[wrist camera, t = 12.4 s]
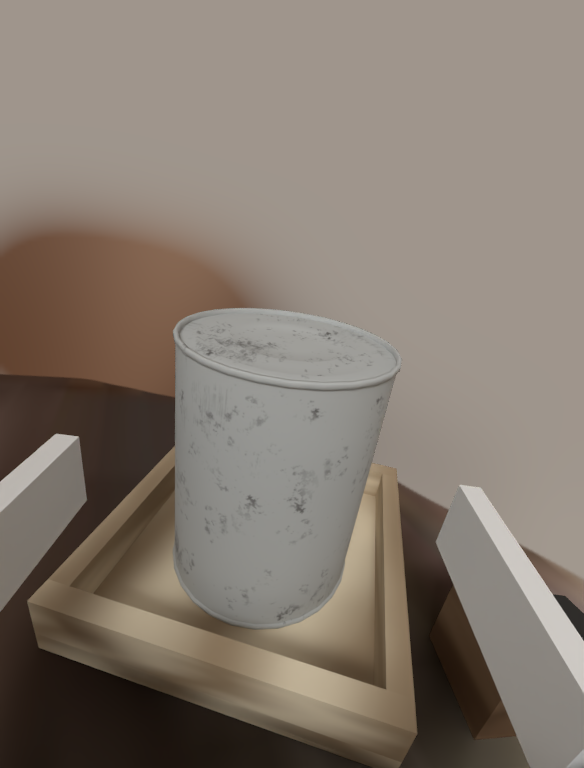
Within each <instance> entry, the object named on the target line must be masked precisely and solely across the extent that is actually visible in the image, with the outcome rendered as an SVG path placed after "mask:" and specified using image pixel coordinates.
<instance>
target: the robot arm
mask: <svg viewBox="0 0 584 768" xmlns="http://www.w3.org/2000/svg"><path fill="white" fill-rule="evenodd" d="M86 500H87V497H86V489H85V481H84V473H83V465H82V457H81V449H80V441H79V437H77V436H69V435H61V434H55V435H54V436H53V437H52V438H50V439H49V440H48V441H47V442H46V443H45V444H44V445H42V446H41V447H40V448H39V449H38V450H37V451H35V452H34V453H33V454H32V455H31V456H30V457H28V458H27V459H26V460H25V461H24V462H23V463H21V464H20V465H19V466H18V467H17V468H16V469H15V470H13V471H12V472H11V473H10V474H9V475H8V476H6V477H5V478H4V479H3V480H2V481H1V482H0V612H1V610H2V609H3V608H4V607H5V605H6V604H7V603H8V601H9V600H10V599H11V597H12V596H13V595H14V594H15V592H16V591H17V590H18V588H19V587H20V586H21V585H22V583H23V582H24V581H25V579H26V578H27V577H28V575H29V574H30V573H31V572H32V570H33V569H34V568H35V566H36V565H37V564H38V563H39V561H40V560H41V559H42V557H43V556H44V555H45V553H46V552H47V551H48V550H49V548H50V547H51V546H52V544H53V543H54V542H55V541H56V539H57V538H58V537H59V535H60V534H61V533H62V531H63V530H64V529H65V528H66V526H67V525H68V524H69V522H70V521H71V520H72V519H73V517H74V516H75V515H76V513H77V512H78V511H79V509H80V508H81V507H82V506H83V504H84V503H85V502H86ZM436 544H437V546H438V549H439V551H440V553H441V556H442V558H443V561H444V563H445V565H446V568H447V570H448V573H449V575H450V577H451V580H452V582H453V585H454V587H455V589H456V592H457V594H458V597H459V599H460V601H461V604H462V606H463V609H464V611H465V613H466V616H467V618H468V620H469V623H470V625H471V628H472V630H473V632H474V635H475V637H476V640H477V642H478V644H479V647H480V649H481V652H482V654H483V656H484V659H485V661H486V664H487V666H488V668H489V671H490V673H491V676H492V678H493V680H494V683H495V685H496V687H497V690H498V692H499V695H500V697H501V699H502V702H503V704H504V707H505V709H506V711H507V714H508V716H509V719H510V721H511V723H512V726H513V728H514V731H515V733H516V735H517V738H518V740H519V743H520V745H521V747H522V750H523V752H524V755H525V757H526V759H527V762H528V764H529V766H530V768H584V613H582V612H581V611H580V610H579V609H578V608H577V607H576V606H575V605H574V604H573V603H572V602H571V601H570V600H569V599H568V598H567V597H565V596H561V595H553V594H552V593H551V592H550V590H549V589H548V587H547V586H546V584H545V583H544V581H543V580H542V578H541V577H540V575H539V574H538V572H537V571H536V569H535V568H534V566H533V565H532V563H531V562H530V560H529V559H528V557H527V556H526V554H525V553H524V551H523V550H522V548H521V547H520V545H519V544H518V542H517V541H516V539H515V538H514V537H513V535H512V533H511V532H510V531H509V529H508V528H507V526H506V525H505V523H504V522H503V520H502V519H501V517H500V516H499V514H498V513H497V511H496V510H495V508H494V507H493V505H492V504H491V503H490V501H489V499H488V498H487V496H486V495H485V493H484V492H483V490H482V489H481V488H480V487H472V486H464V485H459V487H458V489H457V491H456V494H455V496H454V499H453V501H452V504H451V506H450V509H449V511H448V514H447V516H446V518H445V521H444V523H443V526H442V528H441V531H440V533H439V536H438V538H437V541H436Z"/></svg>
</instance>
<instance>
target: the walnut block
mask: <svg viewBox="0 0 584 768" xmlns="http://www.w3.org/2000/svg"><path fill="white" fill-rule="evenodd" d="M429 637H430V639H431V641H432V644H433V646H434V648H435V651H436V653H437V655H438V658H439V660H440V662H441V664H442V667H443V669H444V671H445V674H446V676H447V678H448V681H449V683H450V685H451V688H452V690H453V692H454V694H455V697H456V699H457V701H458V704H459V706H460V708H461V711H462V713H463V715H464V718H465V720H466V722H467V724H468V727H469V729H470V731H471V734H472V736H473V738H474V740H478V739H489V738H500V737H511V736H517V735H516V733H515V731H514V728H513V726H512V723H511V721H510V719H509V716H508V714H507V711H506V709H505V707H504V704H503V702H502V699H501V697H500V695H499V692H498V690H497V687H496V685H495V683H494V680H493V678H492V676H491V673H490V671H489V668H488V666H487V664H486V661H485V659H484V656H483V654H482V652H481V649H480V647H479V644H478V642H477V640H476V637H475V635H474V632H473V630H472V628H471V625H470V623H469V620H468V618H467V616H466V613H465V611H464V609H463V606H462V604H461V601H460V599H459V597H458V594H457V592H456V589H455V587H454V585H452V587H451V589H450V592H449V594H448V596H447V598H446V600H445V602H444V605H443V607H442V609H441V611H440V613H439V615H438V617H437V620H436V622H435V624H434V626H433V628H432V630H431V633H430V635H429Z"/></svg>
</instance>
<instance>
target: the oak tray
mask: <svg viewBox="0 0 584 768" xmlns="http://www.w3.org/2000/svg"><path fill="white" fill-rule="evenodd" d="M174 541H175V446H174V447H173V448H172V449H171V450H170V452H169V453H168V454H167V455H166V456H165V457H164V458H163V459H162V460H161V461H160V462H159V463H158V464H157V465H156V466H155V467H154V468H153V469H152V470H151V471H150V473H149V474H148V475H147V476H146V477H145V478H144V479H143V480H142V481H141V482H140V483H139V484H138V485H137V486H136V487H135V488H134V489H133V490H132V491H131V492H130V494H129V495H128V496H127V497H126V498H125V499H124V500H123V501H122V502H121V503H120V504H119V505H118V506H117V507H116V508H115V509H114V510H113V511H112V512H111V514H110V515H109V516H108V517H107V518H106V519H105V520H104V521H103V522H102V523H101V524H100V525H99V526H98V527H97V528H96V529H95V530H94V531H93V532H92V533H91V535H90V536H89V537H88V538H87V539H86V540H85V541H84V542H83V543H82V544H81V545H80V546H79V547H78V548H77V549H76V550H75V551H74V552H73V553H72V554H71V556H70V557H69V558H68V559H67V560H66V561H65V562H64V563H63V564H62V565H61V566H60V567H59V568H58V569H57V570H56V571H55V572H54V573H53V574H52V575H51V577H50V578H49V579H48V580H47V581H46V582H45V583H44V584H43V585H42V586H41V587H40V588H39V589H38V590H37V591H36V592H35V593H34V594H33V595H32V596H31V598H30V599H29V600H28V601H27V603H28V607H29V611H30V615H31V619H32V623H33V627H34V631H35V635H36V639H37V643H38V647H39V648H41V649H44V650H46V651H49V652H52V653H55V654H57V655H60V656H63V657H66V658H69V659H71V660H74V661H77V662H80V663H83V664H85V665H88V666H91V667H94V668H96V669H99V670H102V671H105V672H108V673H110V674H113V675H116V676H119V677H122V678H124V679H127V680H130V681H133V682H135V683H138V684H141V685H144V686H147V687H149V688H152V689H155V690H158V691H161V692H163V693H166V694H169V695H172V696H174V697H177V698H180V699H183V700H186V701H188V702H191V703H194V704H197V705H200V706H202V707H205V708H208V709H211V710H213V711H216V712H219V713H222V714H225V715H227V716H230V717H233V718H236V719H239V720H241V721H244V722H247V723H250V724H252V725H255V726H258V727H261V728H264V729H266V730H269V731H272V732H275V733H278V734H280V735H283V736H286V737H289V738H291V739H294V740H297V741H300V742H303V743H305V744H308V745H311V746H314V747H317V748H319V749H322V750H325V751H328V752H330V753H333V754H336V755H339V756H342V757H344V758H347V759H350V760H353V761H356V762H358V763H361V764H364V765H367V766H369V767H372V768H399V767H400V765H401V763H402V761H403V759H404V758H405V756H406V754H407V752H408V750H409V748H410V747H411V745H412V743H413V741H414V739H415V737H416V735H417V723H416V710H415V697H414V685H413V672H412V659H411V647H410V634H409V621H408V609H407V596H406V583H405V571H404V558H403V545H402V533H401V520H400V508H399V495H398V482H397V470H396V469H395V468H391V467H387V466H383V465H379V464H375V463H372V464H371V467H370V471H369V474H368V478H367V482H366V485H365V489H364V493H363V496H362V500H361V503H360V507H359V511H358V514H357V518H356V522H355V525H354V529H353V532H352V536H351V540H350V543H349V547H348V551H347V554H346V558H345V566H344V571H343V575H342V579H341V582H340V584H339V586H338V588H337V590H336V591H335V593H334V595H333V597H332V598H331V599H330V600H329V601H328V602H327V603H326V604H325V605H324V606H323V607H322V608H321V609H320V610H319V611H318V612H317V613H315V614H313V615H311V616H310V617H308V618H306V619H305V620H303V621H301V622H299V623H296V624H292V625H289V626H285V627H282V628H278V629H259V630H253V629H248V628H243V627H238V626H232V625H229V624H227V623H225V622H223V621H221V620H218V619H216V618H214V617H212V616H210V615H209V614H207V613H206V612H205V611H203V610H202V609H201V608H200V607H198V606H197V605H196V604H195V603H193V601H192V600H191V599H190V597H189V596H188V595H187V593H186V592H185V591H184V589H183V588H182V587H181V585H180V582H179V580H178V577H177V575H176V572H175V569H174V561H173V546H174Z"/></svg>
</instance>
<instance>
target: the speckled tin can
mask: <svg viewBox="0 0 584 768" xmlns="http://www.w3.org/2000/svg"><path fill="white" fill-rule="evenodd" d="M173 337H174V341H175V344H176V350H175V351H176V352H175V356H176V358H175V362H176V363H175V367H176V369H175V541H174V546H173V561H174V569H175V572H176V575H177V577H178V580H179V582H180V585H181V587H182V588H183V589H184V591H185V592H186V593H187V595H188V596H189V597H190V599H191V600H192V601H193V603H195V604H196V605H197V606H198V607H200V608H201V609H202V610H203V611H205V612H206V613H207V614H209V615H210V616H212V617H214V618H216V619H218V620H221V621H223V622H225V623H227V624H229V625H232V626H238V627H243V628H248V629H253V630H259V629H278V628H282V627H285V626H289V625H292V624H296V623H299V622H301V621H303V620H305V619H306V618H308V617H310V616H311V615H313V614H315V613H317V612H318V611H319V610H320V609H321V608H322V607H323V606H324V605H325V604H326V603H327V602H328V601H329V600H330V599H331V598H332V597H333V595H334V593H335V591H336V590H337V588H338V586H339V584H340V582H341V579H342V575H343V571H344V566H345V558H346V554H347V551H348V547H349V543H350V540H351V536H352V532H353V529H354V525H355V522H356V518H357V514H358V511H359V507H360V503H361V500H362V496H363V493H364V489H365V485H366V482H367V478H368V474H369V471H370V467H371V464H372V460H373V456H374V453H375V449H376V445H377V442H378V438H379V435H380V431H381V427H382V423H383V420H384V416H385V413H386V409H387V406H388V402H389V398H390V394H391V391H392V387H393V383H394V380H395V376H396V374H397V373H398V372H399V371H400V368H401V361H402V358H401V356H400V355H399V353H398V351H397V349H395V348H394V347H393V346H392V345H390V343H389V342H387V341H385V340H384V339H382V338H380V337H378V336H377V335H375V334H372V333H370V332H368V331H365V330H363V329H361V328H358V327H355V326H352V325H349V324H347V323H343V322H340V321H336V320H332V319H328V318H324V317H320V316H315V315H310V314H305V313H298V312H292V311H284V310H274V309H259V308H228V309H218V310H217V309H216V310H210V311H205V312H199V313H196V314H193V315H190V316H187V317H186V318H184V319H182V320H181V321H179V322H178V323H177V325H176V327H175V329H174V330H173Z"/></svg>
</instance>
